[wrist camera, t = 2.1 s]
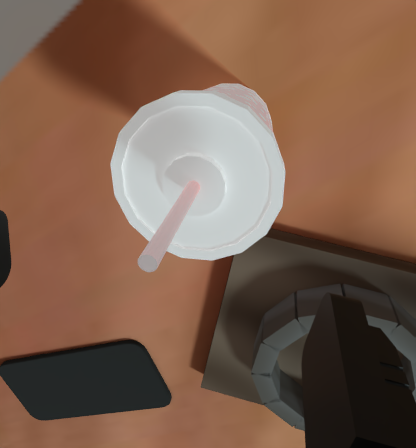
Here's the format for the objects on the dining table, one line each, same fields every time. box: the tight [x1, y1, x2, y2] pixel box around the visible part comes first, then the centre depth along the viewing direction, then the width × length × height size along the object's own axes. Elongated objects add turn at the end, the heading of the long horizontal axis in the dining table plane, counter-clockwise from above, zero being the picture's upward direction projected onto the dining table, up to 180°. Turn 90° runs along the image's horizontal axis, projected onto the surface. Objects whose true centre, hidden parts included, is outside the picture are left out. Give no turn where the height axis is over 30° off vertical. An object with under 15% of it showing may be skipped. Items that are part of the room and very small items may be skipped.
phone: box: [0, 340, 171, 420], centre depth 33 cm, size 7×1×15 cm
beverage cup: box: [111, 84, 285, 272], centre depth 15 cm, size 6×6×14 cm
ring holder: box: [201, 228, 416, 431], centre depth 24 cm, size 14×16×4 cm
